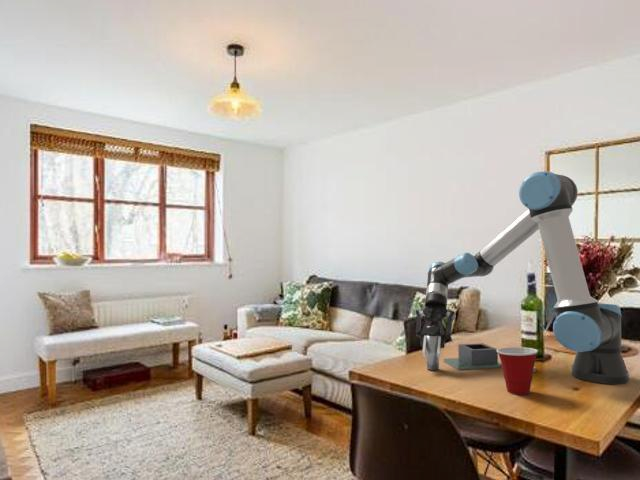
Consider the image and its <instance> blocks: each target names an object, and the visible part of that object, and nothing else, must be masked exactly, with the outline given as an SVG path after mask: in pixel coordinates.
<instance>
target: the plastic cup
mask: <svg viewBox="0 0 640 480" xmlns="http://www.w3.org/2000/svg"><path fill="white" fill-rule="evenodd" d="M496 349H497V350H496V351H497V353H498V358H499V359H500V364H502V367H501V369H502V373H503V378H504V383H505V388H506V391H507V392H508V393H510V394H512V393H513V395H518V396H523V395H524V396H527V395H529V394H530V391H531V386H532V381H533V377H534V376H533V375H534V372H533V370H534V366H535V363H536V359H537V353H538V352H539V350H538V349H536V348H533V347H524V346H522V347H521V346H520V347H519V346H514V347H513V346H509V347H508V346H507V347H501V348H496Z"/></svg>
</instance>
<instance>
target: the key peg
mask: <svg viewBox="0 0 640 480" xmlns="http://www.w3.org/2000/svg"><path fill="white" fill-rule="evenodd" d="M439 332H440V328H439V325H436V324H435V325H434V324H430V325H427V326H426V347H427V348H426V369H427V370H432V371H437V370H440V358H438V356H437V348H438V336H440V335H439Z"/></svg>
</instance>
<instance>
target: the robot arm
mask: <svg viewBox="0 0 640 480" xmlns="http://www.w3.org/2000/svg"><path fill="white" fill-rule="evenodd" d="M578 194H579V193H578V187H577V184H576V183H575V182H574V180H573V179H572V178H570V177H568V176H566V175H563V174H556V173H554V172H552V171H545V170H544V171H536V172H533V173H531V174H529V175H528V176H526V177H525V179H524V180H523V181H522V183H521V184H520V186H519V190H518V197H519V200H520V202H521V203H522V205H523V206H524V207H525V208H527V209H526V210H525V211H524V212H522V214H520V215H519V216H518V217H517V218H516V219H515V220H514V221H512V222H511V223H510V224H509V225H508V226H507V227H506V228H504V229H503V230H502V231H501V232H499V233H498V234H497V235H496V236H495V237H493V239H492V240H490V241H489V242H488V243H487V244H486V245H485V246H484V247H482V249H480V250H479V251H478V252H477V253H476V254H475V255H473V254H471V253H469V252H464V253H462V254H459V255H457V256H456V257H454V258H452V259H450V260H449V261H446V262H443V261H435V262H432V263H431V264H430V265H429V267H428V268H429V269H428V272H427V281H426V289H425V290H426V291H425V299H424V300H425V301H424V307H423V309H422V310H418V309H416V310H415V317H416V322H415V334H416V335H415V336H416V338H419V340H420V341H419V344H420V347H421V348H422V356H423V357H424V358H427V349H426V348H427V347H426V326H427V325H432V322H437V323H438V328H439V332H440V335H439V336H438V348H437V356H438V358H439V359H440V358H441V353H442V352H441V350H442V349H444V348H445V346H446V345H445V343H446V340H451V338H452V328H453V321H454V320H455V318H456V317H455V315H456V314H455V311H448V309H447V306H448V290H449V286H450V285H451V284H453V283H455V282H457V281H459V280H461V279H464V278H472V277H474V278H475V277H486V276H488V275H490V274H492V272H493V271H494V267H495V266H496V265H497V264H498V263H500V262H501V261H502V260H504V259H505V258H506V257H507V256H509V254H511V253H512V252H514V251H515V250H516V249H517V248H518V247H520V245H522V244H523V243H524V242H525V241H527V240H528V239H529V238H530V237H531V236H533V235H534V234H535V233H536V232H537V231H538V230H539V234H540V238H541V241H542V246H543V249H544V252H545V256H546V260H547V261H546V262H547V263H548V264H547V265H548V269H549V272H550V276H551V277H550V278H551V280H552V284H553V287H554V292H555V295H556V299H557V301H556V303H555V304H554V306H553V309H554V310H553V311H554V314H555V320H554V321H553V325H552V331H553V336H554V337H555V340H556V339H557V340H556V341H557V342H558V343H559V344H560V345H561V346H562V347H564V348H565V349H567V350H569V351H571V352H574V353H575V352H576V353H575V357H574V360H573V364H572V365H571V375H572V376H573V377H575V378H577V379H580V380H582V381H587V382H592V383H596V384H597V383H598V384H605V385H607V384H609V385H621V384H626V383H629V382H630V374H629V371H628V369H627V366H626V364H625V360H624V358H623V354H622V313H621V312H622V311H621V308H620V306H619V305H617V304H614V303H613V304H612V303H603V302H599V301H598V300H597V299H596V298H594V297H592V296H591V295H590V291H589V287H588V283H587V280H586V276H585V272H584V269H583V265H582V261H581V258H580V255H579V250H578V246H577V244H576V243H577V242H576V239H575V236H574V232H573V227H572V224H571V221H570V215H571V214H572V212H573V211H574V210H573V205H575V202H576V201H577V198H578ZM423 315H424V316H425V318H426V319H425V322H424V324H423V326H422V318H423ZM445 317H447V325H446V333H445V330H444V325H443V319H444V318H445ZM421 327H422V329H421Z"/></svg>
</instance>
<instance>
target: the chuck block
mask: <svg viewBox="0 0 640 480" xmlns="http://www.w3.org/2000/svg"><path fill="white" fill-rule="evenodd" d="M497 349H498V348H495V347H494V346H490V345H488V344H486V343H465V344H463V343H462V344H458V357H452V358H451V357H450V358H443V362H444V363H445V364H447V365H449V366H451V367H452V368H454V369H456V370H457V371H459V370H460V371H462V370H479V369H481V368H482V369H496V368H497V367H501V368H502V364H501V362H499V354H498V353H497V351H496V350H497ZM497 369H498V368H497Z"/></svg>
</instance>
